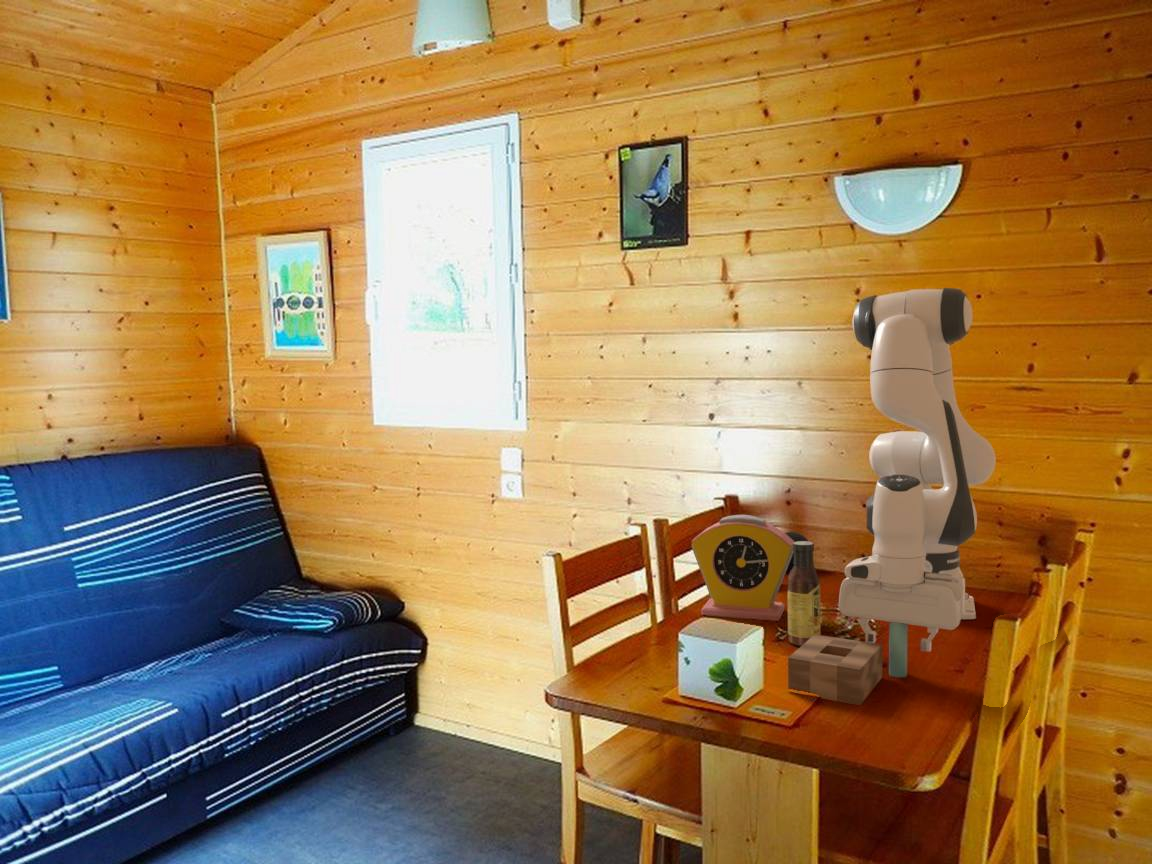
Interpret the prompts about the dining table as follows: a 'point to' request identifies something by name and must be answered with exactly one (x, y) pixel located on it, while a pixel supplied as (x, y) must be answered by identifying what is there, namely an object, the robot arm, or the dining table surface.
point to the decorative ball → (795, 538)
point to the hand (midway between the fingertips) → (897, 646)
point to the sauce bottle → (803, 595)
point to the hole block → (836, 668)
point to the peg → (897, 649)
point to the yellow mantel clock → (743, 567)
